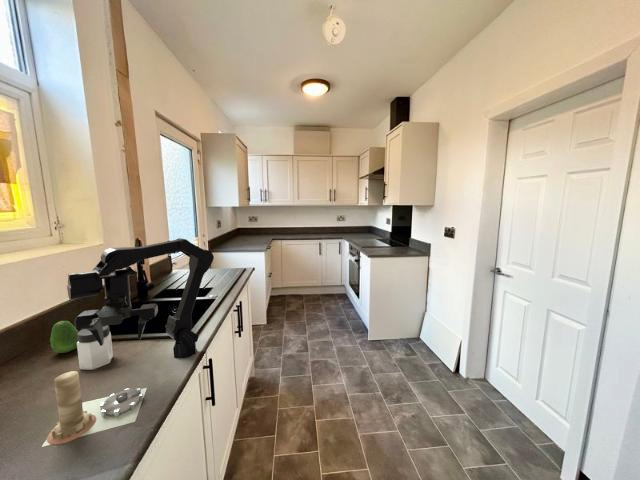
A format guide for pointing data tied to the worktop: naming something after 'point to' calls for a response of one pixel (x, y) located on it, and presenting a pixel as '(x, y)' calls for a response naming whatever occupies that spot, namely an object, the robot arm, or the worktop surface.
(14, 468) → the worktop surface
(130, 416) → the board
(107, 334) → the jar
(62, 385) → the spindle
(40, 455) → the worktop surface
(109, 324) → the robot arm
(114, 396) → the gear
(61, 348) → the avocado
